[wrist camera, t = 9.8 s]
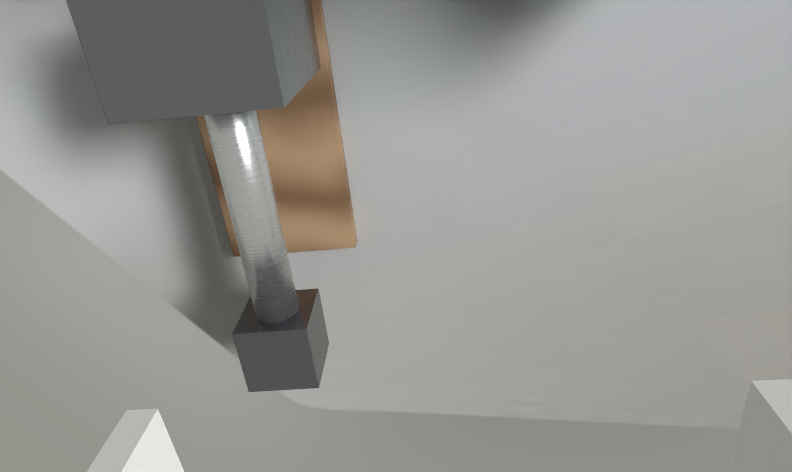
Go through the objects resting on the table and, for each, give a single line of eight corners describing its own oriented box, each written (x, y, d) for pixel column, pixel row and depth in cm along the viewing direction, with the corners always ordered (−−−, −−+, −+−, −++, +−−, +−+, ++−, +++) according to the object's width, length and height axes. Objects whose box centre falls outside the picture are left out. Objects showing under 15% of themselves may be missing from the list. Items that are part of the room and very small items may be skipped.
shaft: (177, 3, 32) (138, 9, 27) (261, -7, 31) (236, -2, 27) (266, 347, 43) (248, 392, 38) (328, 343, 42) (318, 387, 38)
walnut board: (141, -121, 34) (132, -124, 32) (300, -141, 33) (296, -145, 32) (237, 249, 45) (233, 256, 44) (356, 240, 44) (355, 247, 43)
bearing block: (169, -15, 35) (64, -6, 25) (305, -30, 34) (258, -28, 24) (193, 80, 38) (108, 124, 27) (321, 67, 37) (284, 107, 27)
